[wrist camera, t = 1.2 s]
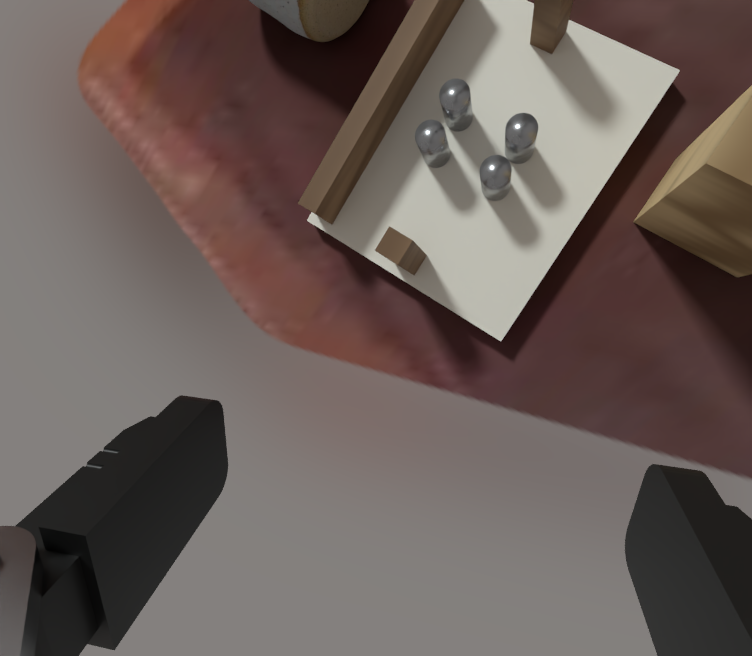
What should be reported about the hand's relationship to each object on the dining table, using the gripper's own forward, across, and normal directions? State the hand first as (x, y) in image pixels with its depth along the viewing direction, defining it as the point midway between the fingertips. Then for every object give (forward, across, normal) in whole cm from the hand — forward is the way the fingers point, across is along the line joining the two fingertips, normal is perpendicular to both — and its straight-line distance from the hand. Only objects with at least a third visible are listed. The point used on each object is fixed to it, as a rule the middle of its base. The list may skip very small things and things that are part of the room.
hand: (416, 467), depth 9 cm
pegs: (+23, -1, -4) cm, 24 cm away
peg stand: (+24, -1, -4) cm, 25 cm away
